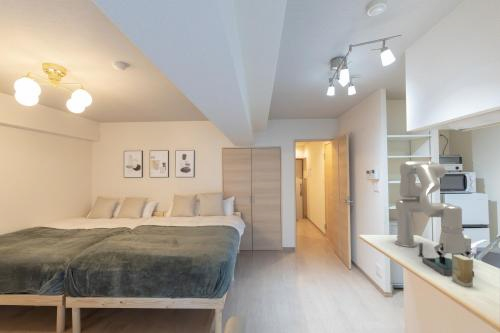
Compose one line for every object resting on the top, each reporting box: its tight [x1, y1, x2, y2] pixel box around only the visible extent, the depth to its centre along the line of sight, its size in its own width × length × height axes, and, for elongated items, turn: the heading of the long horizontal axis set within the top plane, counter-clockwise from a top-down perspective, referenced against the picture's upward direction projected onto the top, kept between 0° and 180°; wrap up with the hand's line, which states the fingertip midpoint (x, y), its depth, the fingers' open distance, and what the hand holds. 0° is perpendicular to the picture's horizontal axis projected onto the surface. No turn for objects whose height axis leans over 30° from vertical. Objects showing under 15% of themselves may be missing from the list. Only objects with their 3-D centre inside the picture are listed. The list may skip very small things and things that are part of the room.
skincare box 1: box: [451, 233, 472, 259], centre depth 137 cm, size 8×7×16 cm
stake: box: [417, 242, 425, 258], centre depth 148 cm, size 3×3×8 cm
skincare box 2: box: [451, 255, 474, 287], centre depth 113 cm, size 6×4×12 cm
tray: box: [421, 257, 475, 278], centre depth 129 cm, size 18×14×2 cm
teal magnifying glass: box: [434, 256, 453, 270], centre depth 128 cm, size 12×8×6 cm, turn 175°
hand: (452, 264), depth 125 cm, fingers open, 9 cm apart
